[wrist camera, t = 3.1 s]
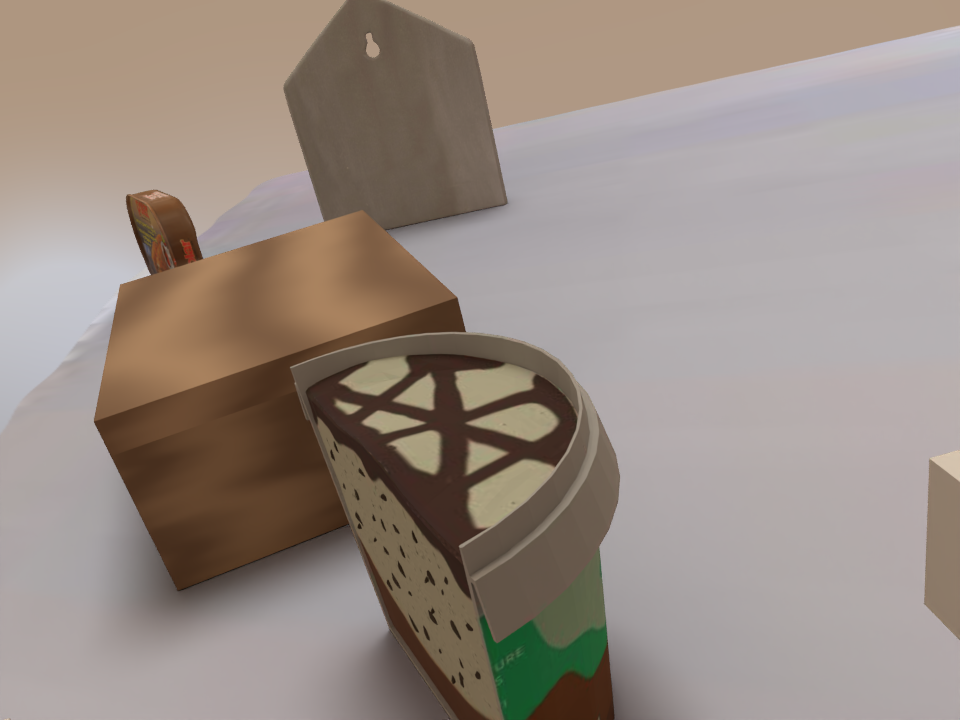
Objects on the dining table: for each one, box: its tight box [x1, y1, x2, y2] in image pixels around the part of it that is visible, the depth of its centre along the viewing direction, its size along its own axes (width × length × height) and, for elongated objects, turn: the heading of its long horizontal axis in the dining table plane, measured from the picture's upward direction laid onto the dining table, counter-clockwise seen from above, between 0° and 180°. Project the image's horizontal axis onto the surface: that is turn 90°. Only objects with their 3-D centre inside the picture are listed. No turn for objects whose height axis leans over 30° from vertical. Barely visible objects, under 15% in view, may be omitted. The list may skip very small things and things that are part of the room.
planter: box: [284, 0, 507, 230], centre depth 72 cm, size 16×8×19 cm, turn 90°
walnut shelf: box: [94, 210, 466, 591], centre depth 40 cm, size 14×18×8 cm
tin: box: [126, 190, 203, 275], centre depth 69 cm, size 15×3×8 cm, turn 33°
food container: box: [290, 332, 620, 720], centre depth 23 cm, size 12×6×10 cm, turn 29°
